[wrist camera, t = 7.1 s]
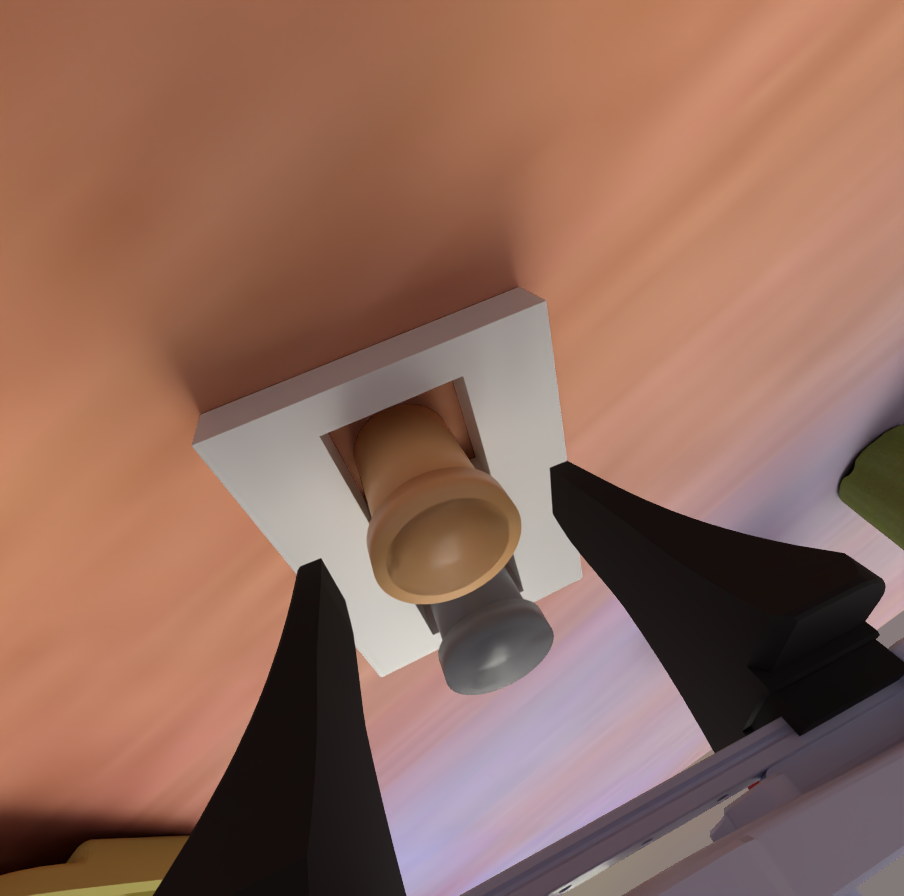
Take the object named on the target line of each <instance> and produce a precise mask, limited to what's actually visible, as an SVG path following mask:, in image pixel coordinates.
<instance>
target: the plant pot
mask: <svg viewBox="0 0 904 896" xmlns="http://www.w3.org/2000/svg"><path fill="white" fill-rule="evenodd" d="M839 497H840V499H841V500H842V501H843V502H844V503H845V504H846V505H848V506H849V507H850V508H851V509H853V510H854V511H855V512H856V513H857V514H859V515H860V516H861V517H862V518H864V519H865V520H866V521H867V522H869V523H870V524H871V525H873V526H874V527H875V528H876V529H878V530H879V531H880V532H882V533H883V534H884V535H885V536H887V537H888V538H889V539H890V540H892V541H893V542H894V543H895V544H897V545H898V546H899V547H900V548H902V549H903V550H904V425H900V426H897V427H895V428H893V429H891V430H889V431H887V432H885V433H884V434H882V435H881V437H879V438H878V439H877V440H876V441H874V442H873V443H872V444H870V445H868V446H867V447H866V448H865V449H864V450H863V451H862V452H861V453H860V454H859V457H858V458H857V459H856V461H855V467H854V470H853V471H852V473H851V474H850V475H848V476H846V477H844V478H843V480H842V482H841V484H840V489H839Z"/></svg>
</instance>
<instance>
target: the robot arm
mask: <svg viewBox="0 0 904 896" xmlns="http://www.w3.org/2000/svg"><path fill="white" fill-rule="evenodd" d="M550 482H551V497H552V513H553V515H554V517H555V519H556V520H557V522H558V524H559V525H560V527H561V528H562V530H563V531H564V533H565V534H566V536H567V537H568V539H569V541H570V542H571V543H572V544H573V546H574V547H575V548H576V549H577V550H578V552H579V553H580V554H581V555H582V556H583V558H584V559H585V560H586V561H587V562H588V564H589V565H590V566H591V567H592V568H593V570H594V571H595V572H596V573H597V574H598V576H599V577H600V578H601V579H602V580H603V582H604V583H605V584H606V585H607V586H608V588H609V589H610V590H611V591H612V592H613V594H614V595H615V596H616V597H617V599H618V600H619V601H620V603H621V604H622V605H623V606H624V608H625V609H626V611H627V612H628V614H629V615H630V617H631V618H632V619H633V621H634V622H635V624H636V625H637V627H638V628H639V630H640V631H641V633H642V634H643V636H644V637H645V639H646V640H647V642H648V643H649V645H650V646H651V648H652V649H653V651H654V653H655V654H656V656H657V657H658V659H659V660H660V662H661V663H662V665H663V666H664V668H665V670H666V671H667V673H668V675H669V676H670V678H671V679H672V681H673V683H674V684H675V686H676V688H677V689H678V691H679V692H680V694H681V696H682V697H683V699H684V701H685V702H686V704H687V706H688V708H689V709H690V711H691V713H692V714H693V716H694V718H695V720H696V721H697V723H698V725H699V726H700V728H701V730H702V731H703V733H704V735H705V737H706V739H707V740H708V742H709V744H710V746H711V748H712V749H713V751H714V752H715V754H713V755H711V756H709V757H708V758H706V759H704V760H702V761H700V762H699V763H697V764H695V765H693V766H691V767H690V768H688V769H686V770H684V771H682V772H681V773H679V774H677V775H675V776H673V777H672V778H670V779H668V780H666V781H665V782H663V783H661V784H659V785H657V786H656V787H654V788H652V789H650V790H648V791H647V792H645V793H643V794H641V795H639V796H638V797H636V798H634V799H632V800H630V801H629V802H627V803H625V804H623V805H621V806H620V807H618V808H616V809H614V810H612V811H611V812H609V813H607V814H605V815H603V816H602V817H600V818H598V819H596V820H594V821H593V822H591V823H589V824H587V825H585V826H584V827H582V828H580V829H578V830H577V831H575V832H573V833H571V834H569V835H568V836H566V837H564V838H562V839H560V840H559V841H557V842H555V843H553V844H551V845H550V846H548V847H546V848H544V849H542V850H541V851H539V852H537V853H535V854H533V855H532V856H530V857H528V858H526V859H524V860H523V861H521V862H519V863H517V864H515V865H514V866H512V867H510V868H508V869H506V870H505V871H503V872H501V873H499V874H497V875H496V876H494V877H492V878H490V879H489V880H487V881H485V882H483V883H481V884H480V885H478V886H476V887H474V888H472V889H471V890H469V891H467V892H465V893H463V894H462V895H460V896H561V895H562V894H564V893H566V892H568V891H569V890H571V889H573V888H575V887H576V886H578V885H580V884H581V883H583V882H585V881H587V880H588V879H590V878H592V877H593V876H595V875H597V874H599V873H600V872H602V871H604V870H605V869H607V868H609V867H611V866H612V865H614V864H616V863H618V862H619V861H621V860H623V859H624V858H626V857H628V856H630V855H631V854H633V853H635V852H636V851H638V850H640V849H642V848H643V847H645V846H646V845H648V844H650V843H652V842H654V841H655V840H657V839H659V838H661V837H662V836H664V835H666V834H667V833H669V832H671V831H673V830H674V829H676V828H678V827H679V826H681V825H683V824H684V823H686V822H688V821H690V820H691V819H693V818H695V817H697V816H698V815H700V814H702V813H703V812H705V811H707V810H709V809H711V808H712V807H714V806H716V805H717V804H719V803H721V802H722V801H724V800H726V799H728V798H729V797H731V796H733V795H735V794H736V793H738V792H740V791H741V790H743V789H745V788H747V787H748V786H750V785H752V784H754V783H755V782H757V781H759V780H760V781H759V783H758V784H757V785H755V786H754V787H753V788H751V789H750V790H749V791H747V792H746V793H745V794H743V795H742V796H741V797H739V798H738V799H736V800H735V801H733V802H732V803H731V804H729V805H728V806H727V807H725V808H724V816H723V817H722V819H721V821H720V822H719V823H718V824H717V825H716V826H715V827H714V828H713V829H712V830H711V831H710V837H711V839H712V840H713V842H714V843H712V844H710V845H708V846H706V847H705V848H703V849H701V850H699V851H697V852H695V853H693V854H692V855H690V856H688V857H686V858H685V859H683V860H681V861H679V862H678V863H676V864H674V865H673V866H671V867H669V868H667V869H666V870H664V871H662V872H660V873H659V874H657V875H655V876H654V877H652V878H650V879H649V880H647V881H645V882H644V883H642V884H640V885H639V886H637V887H636V888H634V889H632V890H631V891H629V892H627V893H626V894H624V895H622V896H862V895H861V894H860V893H859V891H858V890H857V889H856V887H857V886H859V885H860V884H862V883H863V882H865V881H866V880H868V879H869V878H870V877H872V876H873V875H875V874H876V873H878V872H879V871H880V870H882V869H883V868H885V867H886V866H887V865H889V864H890V863H892V862H893V861H895V860H896V859H897V858H899V857H900V856H902V855H903V854H904V638H902V639H901V640H899V641H897V642H896V643H895V644H893V645H892V646H891V647H890V648H889V649H887V648H886V647H885V646H883V645H882V644H881V643H880V642H878V641H877V640H876V638H878V636H879V633H878V631H877V630H876V629H874V628H873V627H872V626H871V625H869V624H868V623H867V622H865V621H866V619H867V618H868V616H869V615H870V614H871V612H872V611H873V609H874V608H875V606H876V605H877V604H878V602H879V601H880V599H881V598H882V596H883V594H884V592H885V582H884V581H883V579H882V578H880V577H879V576H877V575H876V574H874V573H873V572H871V571H870V570H868V569H867V568H866V567H864V566H863V565H861V564H860V563H858V562H857V561H855V560H854V559H852V558H851V557H849V556H848V555H846V554H845V553H840V552H834V551H827V550H821V549H815V548H809V547H803V546H797V545H792V544H787V543H782V542H777V541H773V540H768V539H763V538H759V537H755V536H751V535H747V534H743V533H739V532H736V531H732V530H729V529H725V528H721V527H718V526H715V525H711V524H708V523H705V522H702V521H699V520H696V519H693V518H690V517H688V516H685V515H682V514H679V513H676V512H674V511H671V510H668V509H666V508H664V507H661V506H659V505H656V504H654V503H652V502H649V501H647V500H645V499H642V498H640V497H638V496H636V495H634V494H631V493H629V492H627V491H625V490H623V489H621V488H619V487H617V486H615V485H613V484H611V483H609V482H607V481H605V480H603V479H601V478H599V477H597V476H595V475H593V474H592V473H590V472H588V471H586V470H584V469H582V468H580V467H578V466H576V465H574V464H572V463H570V462H569V461H565V462H563V463H560V464H558V465H555V466H553V467H550ZM153 896H406V893H405V889H404V885H403V881H402V878H401V874H400V870H399V866H398V862H397V858H396V855H395V851H394V847H393V843H392V839H391V835H390V831H389V827H388V823H387V818H386V814H385V810H384V806H383V802H382V798H381V793H380V789H379V785H378V781H377V776H376V772H375V768H374V763H373V759H372V754H371V750H370V745H369V740H368V736H367V731H366V726H365V720H364V714H363V706H362V698H361V690H360V681H359V673H358V665H357V657H356V649H355V641H354V634H353V629H352V625H351V621H350V617H349V613H348V609H347V605H346V601H345V599H344V597H343V595H342V593H341V592H340V590H339V588H338V586H337V585H336V583H335V581H334V579H333V578H332V576H331V574H330V573H329V571H328V569H327V567H326V566H325V564H324V562H323V560H322V559H321V558H320V559H317V560H315V561H312V562H310V563H307V564H305V565H302V566H300V567H299V569H298V571H297V576H296V581H295V586H294V590H293V595H292V599H291V603H290V607H289V611H288V615H287V618H286V622H285V625H284V629H283V632H282V636H281V639H280V642H279V646H278V649H277V652H276V655H275V657H274V660H273V663H272V666H271V669H270V672H269V675H268V678H267V680H266V683H265V686H264V688H263V691H262V693H261V696H260V698H259V701H258V703H257V706H256V708H255V710H254V713H253V715H252V717H251V720H250V722H249V724H248V726H247V728H246V731H245V733H244V735H243V737H242V739H241V741H240V743H239V746H238V748H237V750H236V752H235V754H234V756H233V758H232V760H231V762H230V764H229V766H228V768H227V770H226V772H225V774H224V775H223V777H222V779H221V781H220V783H219V785H218V786H217V788H216V790H215V792H214V794H213V796H212V797H211V799H210V801H209V803H208V805H207V807H206V808H205V810H204V812H203V814H202V816H201V817H200V819H199V821H198V823H197V824H196V826H195V828H194V830H193V831H192V833H191V835H190V836H189V838H188V839H187V841H186V843H185V844H184V846H183V847H182V849H181V851H180V852H179V854H178V856H177V857H176V859H175V860H174V862H173V864H172V865H171V867H170V869H169V870H168V872H167V873H166V875H165V877H164V878H163V880H162V881H161V883H160V885H159V886H158V888H157V889H156V891H155V892H154V894H153Z"/></svg>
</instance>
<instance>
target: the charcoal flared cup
mask: <svg viewBox="0 0 904 896" xmlns="http://www.w3.org/2000/svg"><path fill="white" fill-rule="evenodd" d="M430 607H431V610H432V612H433V615H434V618H435V621H436V624H437V626H438V629H439V632H440V635H441V638H442V642H441V645H440V647H439V652H438V657H439V661H440V664H441V667H442V670H443V673H444V676H445V679H446V682H447V684H448V686H449V687H450V689H452V690H453V691H455V692H457V693H460V694H464V695H478V694H484V693H489V692H492V691H495V690H498V689H501V688H503V687H506V686H508V685H510V684H512V683H514V682H516V681H517V680H519V679H521V678H522V677H524V676H525V675H527V674H528V673H529V672H531V671H532V670H533V669H534V668H535V667H536V666H537V665H538V664H539V663H540V662H541V661H542V660H543V659H544V658H545V656H546V655H547V654H548V652H549V650H550V648H551V646H552V643H553V638H554V635H553V631H552V628H551V627H550V625H549V623H548V622H547V620H546V618H545V617H544V615H543V613H542V612H541V610H540V608H539V607H538V606H537V605H536V604H535V603H533V602H531V601H529V600H525V599H523V597H522V596H521V594H520V592H519V590H518V589H517V587H516V585H515V583H514V582H513V580H512V578H511V576H510V575H509V573H508V571H507V569H506V568H505V566H504V567H503V568H502V569H501V570H500V571H499V572H498V573H497V574H496V575H495V576H494V577H493V578H492V579H491V580H489V581H488V582H486V583H485V584H484V585H482V586H481V587H479V588H477V589H476V590H474V591H472V592H470V593H468V594H466V595H463V596H461V597H459V598H456V599H453V600H450V601H445V602H441V603H435V604H430Z"/></svg>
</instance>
